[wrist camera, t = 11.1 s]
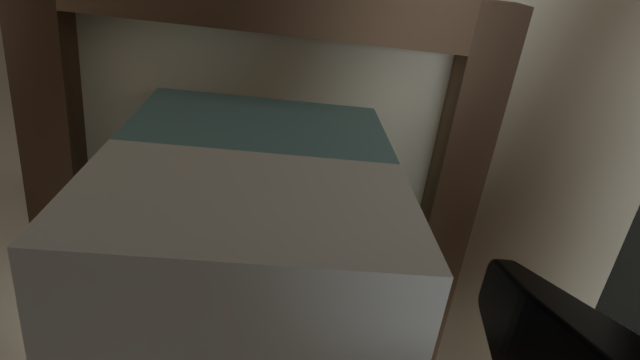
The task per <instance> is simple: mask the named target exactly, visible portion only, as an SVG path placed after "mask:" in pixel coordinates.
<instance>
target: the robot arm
mask: <svg viewBox="0 0 640 360" xmlns="http://www.w3.org/2000/svg"><path fill="white" fill-rule="evenodd" d="M478 305H479V310H480V314H481V318H482V322H483V326H484V330H485V334H486V338H487V342H488V346H489V350H490V354H491V358H492V360H640V336H639V335H637V334H636V333H634V332H632V331H631V330H629V329H627V328H626V327H624V326H622V325H621V324H619V323H617V322H616V321H614V320H612V319H611V318H609V317H607V316H606V315H604V314H602V313H601V312H599V311H597V310H596V309H594V308H592V307H591V306H589V305H587V304H586V303H584V302H582V301H581V300H579V299H577V298H576V297H574V296H572V295H571V294H569V293H567V292H566V291H564V290H562V289H561V288H559V287H557V286H556V285H554V284H552V283H551V282H549V281H547V280H546V279H544V278H542V277H541V276H539V275H537V274H536V273H534V272H532V271H531V270H529V269H527V268H526V267H524V266H522V265H521V264H519V263H517V262H516V261H514V260H506V259H493V260H491V261H490V262H489V264H488V266H487V269H486V272H485V275H484V279H483V282H482V285H481V289H480V292H479V297H478Z"/></svg>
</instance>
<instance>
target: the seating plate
mask: <svg viewBox="0 0 640 360" xmlns="http://www.w3.org/2000/svg"><path fill="white" fill-rule="evenodd" d="M157 88H167V89H178V90H188V91H199V92H209V93H219V94H230V95H240V96H251V97H261V98H271V99H282V100H292V101H302V102H313V103H323V104H334V105H344V106H354V107H365V108H374V109H375V111H376V114H377V116H378V118H379V120H380V122H381V124H382V126H383V129H384V131H385V133H386V135H387V137H388V139H389V141H390V143H391V146H392V148H393V150H394V152H395V154H396V156H397V158H398V160H399V163H400V165H401V167H402V169H403V171H404V173H405V175H406V177H407V180H408V182H409V184H410V186H411V188H412V190H413V192H414V194H415V197H416V199H417V201H418V203H419V205H420V207H421V209H422V212H423V214H424V216H425V218H426V220H427V222H428V224H429V226H430V229H431V231H432V233H433V235H434V237H435V239H436V241H437V243H438V246H439V248H440V250H441V252H442V254H443V256H444V258H445V260H446V263H447V265H448V267H449V269H450V271H451V273H452V275H453V277H454V278H453V282H452V285H451V289H450V293H449V296H448V300H447V304H446V308H445V311H444V315H443V319H442V322H441V326H440V330H439V333H438V337H437V341H436V344H435V348H434V352H433V356H432V359H431V360H492V358H491V354H490V350H489V346H488V342H487V338H486V334H485V330H484V326H483V322H482V318H481V314H480V310H479V305H478V297H479V292H480V289H481V285H482V282H483V279H484V275H485V272H486V269H487V266H488V264H489V262H490V261H491V260H493V259H506V260H514V261H516V262H517V263H519V264H521V265H522V266H524V267H526V268H527V269H529V270H531V271H532V272H534V273H536V274H537V275H539V276H541V277H542V278H544V279H546V280H547V281H549V282H551V283H552V284H554V285H556V286H557V287H559V288H561V289H562V290H564V291H566V292H567V293H569V294H571V295H572V296H574V297H576V298H577V299H579V300H581V301H582V302H584V303H586V304H587V305H589V306H591V307H592V308H594V309H595V307H596V305H597V302H598V300H599V298H600V295H601V293H602V291H603V288H604V286H605V284H606V282H607V279H608V277H609V275H610V272H611V270H612V268H613V265H614V263H615V261H616V258H617V256H618V254H619V251H620V249H621V247H622V244H623V242H624V240H625V237H626V235H627V233H628V231H629V228H630V226H631V224H632V221H633V219H634V217H635V214H636V212H637V210H638V207H639V205H640V0H0V360H27V359H26V354H25V348H24V342H23V337H22V331H21V325H20V320H19V314H18V308H17V302H16V297H15V291H14V285H13V280H12V274H11V268H10V262H9V257H8V251H7V247H8V246H9V245H10V243H11V242H12V241H13V240H14V239H15V238H16V237H17V236H18V235H19V234H20V233H21V232H22V231H23V230H24V229H25V228H26V227H27V226H28V224H29V223H30V222H31V221H32V220H33V219H34V218H35V217H36V216H37V215H38V214H39V213H40V212H41V211H42V210H43V209H44V208H45V207H46V205H47V204H48V203H49V202H50V201H51V200H52V199H53V198H54V197H55V196H56V195H57V194H58V193H59V192H60V191H61V190H62V189H63V188H64V186H65V185H66V184H67V183H68V182H69V181H70V180H71V179H72V178H73V177H74V176H75V175H76V174H77V173H78V172H79V171H80V170H81V169H82V167H83V166H84V165H85V164H86V163H87V162H88V161H89V160H90V159H91V158H92V157H93V156H94V155H95V154H96V153H97V152H98V151H99V150H100V148H101V147H102V146H103V145H104V144H105V143H106V142H107V141H108V140H109V139H110V138H111V137H112V136H113V135H114V134H115V133H116V132H117V131H118V129H119V128H120V127H121V126H122V125H123V124H124V123H125V122H126V121H127V120H128V119H129V118H130V117H131V116H132V115H133V114H134V113H135V112H136V110H137V109H138V108H139V107H140V106H141V105H142V104H143V103H144V102H145V101H146V100H147V99H148V98H149V97H150V96H151V95H152V94H153V93H154V91H155V90H156V89H157Z"/></svg>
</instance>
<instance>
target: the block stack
mask: <svg viewBox="0 0 640 360" xmlns="http://www.w3.org/2000/svg"><path fill="white" fill-rule="evenodd" d="M7 251H8V257H9V262H10V268H11V274H12V280H13V285H14V291H15V297H16V302H17V308H18V314H19V320H20V325H21V331H22V337H23V342H24V348H25V354H26V359H27V360H431V359H432V356H433V352H434V348H435V344H436V341H437V337H438V333H439V330H440V326H441V322H442V319H443V315H444V311H445V308H446V304H447V300H448V296H449V293H450V289H451V285H452V282H453V278H454V277H453V275H452V273H451V271H450V269H449V267H448V265H447V263H446V260H445V258H444V256H443V254H442V252H441V250H440V248H439V246H438V243H437V241H436V239H435V237H434V235H433V233H432V231H431V229H430V226H429V224H428V222H427V220H426V218H425V216H424V214H423V212H422V209H421V207H420V205H419V203H418V201H417V199H416V197H415V194H414V192H413V190H412V188H411V186H410V184H409V182H408V180H407V177H406V175H405V173H404V171H403V169H402V167H401V165H400V163H399V160H398V158H397V156H396V154H395V152H394V150H393V148H392V146H391V143H390V141H389V139H388V137H387V135H386V133H385V131H384V129H383V126H382V124H381V122H380V120H379V118H378V116H377V114H376V111H375V109H374V108H365V107H354V106H344V105H334V104H323V103H313V102H302V101H292V100H282V99H271V98H261V97H251V96H240V95H230V94H219V93H209V92H199V91H188V90H178V89H167V88H157V89H156V90H155V91H154V93H153V94H152V95H151V96H150V97H149V98H148V99H147V100H146V101H145V102H144V103H143V104H142V105H141V106H140V107H139V108H138V109H137V110H136V112H135V113H134V114H133V115H132V116H131V117H130V118H129V119H128V120H127V121H126V122H125V123H124V124H123V125H122V126H121V127H120V128H119V129H118V131H117V132H116V133H115V134H114V135H113V136H112V137H111V138H110V139H109V140H108V141H107V142H106V143H105V144H104V145H103V146H102V147H101V148H100V150H99V151H98V152H97V153H96V154H95V155H94V156H93V157H92V158H91V159H90V160H89V161H88V162H87V163H86V164H85V165H84V166H83V167H82V169H81V170H80V171H79V172H78V173H77V174H76V175H75V176H74V177H73V178H72V179H71V180H70V181H69V182H68V183H67V184H66V185H65V186H64V188H63V189H62V190H61V191H60V192H59V193H58V194H57V195H56V196H55V197H54V198H53V199H52V200H51V201H50V202H49V203H48V204H47V205H46V207H45V208H44V209H43V210H42V211H41V212H40V213H39V214H38V215H37V216H36V217H35V218H34V219H33V220H32V221H31V222H30V223H29V224H28V226H27V227H26V228H25V229H24V230H23V231H22V232H21V233H20V234H19V235H18V236H17V237H16V238H15V239H14V240H13V241H12V242H11V243H10V245H9V246H8V247H7Z"/></svg>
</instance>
